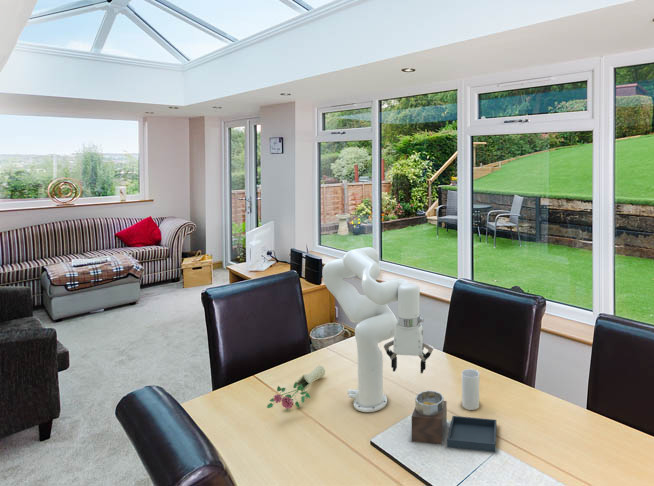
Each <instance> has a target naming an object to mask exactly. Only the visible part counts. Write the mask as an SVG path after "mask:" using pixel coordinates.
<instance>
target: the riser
mask: <svg viewBox="0 0 654 486" xmlns="http://www.w3.org/2000/svg"><path fill="white" fill-rule="evenodd" d="M447 405H448V402H447V400H444V406H443V411H442V412H441V413H440V414H438V415H435V416H423V415H421V414H419V413H418V412H417V411H416V408H415V407H414V409H413V412H412V415H411V442H413V443H415V442H416V443H423V444H435V445H443V442H444V441H443V440H444V437H445V435H446V428H447V425H448V415H447V413H448V410H447V409H448V408H447V407H448V406H447Z"/></svg>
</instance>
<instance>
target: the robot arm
mask: <svg viewBox="0 0 654 486" xmlns="http://www.w3.org/2000/svg"><path fill="white" fill-rule="evenodd" d="M379 261H380V255H379V253H378V251H377V250H376V249H375V248H374V247H371V246H365V247H359V248H354V249H353V248H352V249H350V250H348V251H347V252H346V253H345V254H344V255H343V257H342V258H341V257H340V258H336V259H332V260H330V261H328V262H327V263H325V264H324V265H323V268H322V272H321V273H322V279H323V283H324V285H325V287H326V289H327V290H328V291H329V293H331V295H332V296H333V297H334V298H335V299H336V300H337V302H338V304H339V306H340V307H341V309H342V310H343V312H344V314H345V316H346V317H347V319H348V320H349V321H350V322H351V323H353V324H354V323H355V324H356V326H355V328H354V338H355V343H356V351H357V388H356V389H352V388H348V390H347V396H348V397H347V398H349V399H354V400H353V407H354V409H355V410H356V411H359V412H363V413H374V412H377V411H380V410H382V409H384V408H385V407H386V405H387V404H388V397H387V395H386V394H385V393H384V355H383V351H382V350H381V349H380V347H379V344H380V343H382V342H385V341H387V340H390V339H392V338H393V340H390V341H387V342H386V343H385V344H384V345H383V348H384V351H385V353H386V355H387V356H388V357H389V359H390V360H391V364H390V367H391V368H392V372H396V370H397V368H398V366H397V365H398V357H397V356H413V357H419V359H420V374H424V371H426V368H427V364H426V361H427V360H428V359H429V358H430V357H431V355H432V353H433V351H434V349H435V348H434V346H433V345H431V344H429V343H427V342H426V341H425V339H424V338H425V337H424V329H423V324H422V323H424V321H425V318H424V317H422V316H421V314H420V313H421V311H420V309H421V308H420V307H421V304H420V294H421V292H420V287H419V285H418V284H417V283H413V282H410V281H408V280H407V279H405V278H402V277H399V278H394V279H390V280H389V279H388V280H386V281H385V280H384V281H381V282H379V281H377V280H378V278H379V277H380V275H381V271H382V270H381V269H382V268H381V265H380V264H379ZM355 277H357V278H359V279H360V281H361V288H362V292H363V294H360V292H359V291H358V289H357V288H356V287H355V286H354V285H353V284H352V283H350V282H348V281H346V280H345V279H350V278H355ZM394 302H397V317H396V315H395V314H394V312H393V311H392V309H391V308H390V307H389V304H391V303H394ZM390 347H393V351H392V349H391V348H390ZM424 349H426V350H427V352H426V353H425V352H424Z"/></svg>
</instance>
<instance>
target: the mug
mask: <svg viewBox="0 0 654 486" xmlns="http://www.w3.org/2000/svg"><path fill="white" fill-rule="evenodd" d="M461 399H462V400H461V403H462V404H461V405H462V407H463V409H464V410H468V411H475V410H477V409H479V407H480V372H479V370H477V369H474V368H466V369H463V370H462V371H461Z"/></svg>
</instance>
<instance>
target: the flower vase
mask: <svg viewBox="0 0 654 486" xmlns="http://www.w3.org/2000/svg"><path fill="white" fill-rule="evenodd" d="M325 374H326V369H325V367H324V366H322V365H317V366H316V367H315V368H314V369H313V370H312V371H311V372H309V373H307V374H302V376H300V377H299V379H298V380H297V381H295V382H294V383H293V389H294V390H292V391H288V392H285V391H286V388H287V387H281V386H279V385H277V388H276V392H279V393H280V394H279V393H278V394H277V393H276V394H274V396H273V397H272V398H271V399H269V402H270V403H268V404H267V406H266V408H267V409H271V408H273V406H274V403H275V404H279V403H281V406H282V408H284V409H285V411H289V410H290V409H292V408H294V405H295V406H296V408H298V409H300V406H301V405H300V403H299V401H298V400H297V399H296V397H295V396H296V394H300V395H302V396H300V401H301V403H302V404H305V399H306V398H307V399H311V398H312V397H311V395H310V393H309V392H308V391H306V390H307V389H308V388H309V387H310V386H311V385H312V384H313V383H314V382H315V381H317V380H320V379H321V378H324V376H325ZM284 392H285V393H284ZM293 392H294V393H293ZM291 393H293V394H291ZM293 397H294V398H293ZM294 400H296V401H295V402H294Z"/></svg>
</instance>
